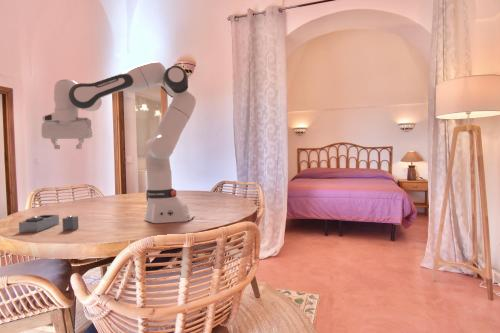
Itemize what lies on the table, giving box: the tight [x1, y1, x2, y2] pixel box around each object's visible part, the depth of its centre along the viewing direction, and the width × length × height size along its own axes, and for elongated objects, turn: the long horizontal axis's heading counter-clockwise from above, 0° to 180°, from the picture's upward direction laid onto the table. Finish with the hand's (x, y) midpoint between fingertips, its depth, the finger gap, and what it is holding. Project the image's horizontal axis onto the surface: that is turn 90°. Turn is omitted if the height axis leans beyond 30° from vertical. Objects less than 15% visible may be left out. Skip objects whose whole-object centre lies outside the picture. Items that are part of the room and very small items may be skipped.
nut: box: [25, 215, 43, 222], centre depth 119 cm, size 4×4×6 cm
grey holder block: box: [18, 214, 60, 234], centre depth 122 cm, size 14×7×4 cm, turn 2°
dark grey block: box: [61, 215, 79, 232], centre depth 119 cm, size 4×4×6 cm
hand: (68, 149), depth 129 cm, fingers open, 8 cm apart
